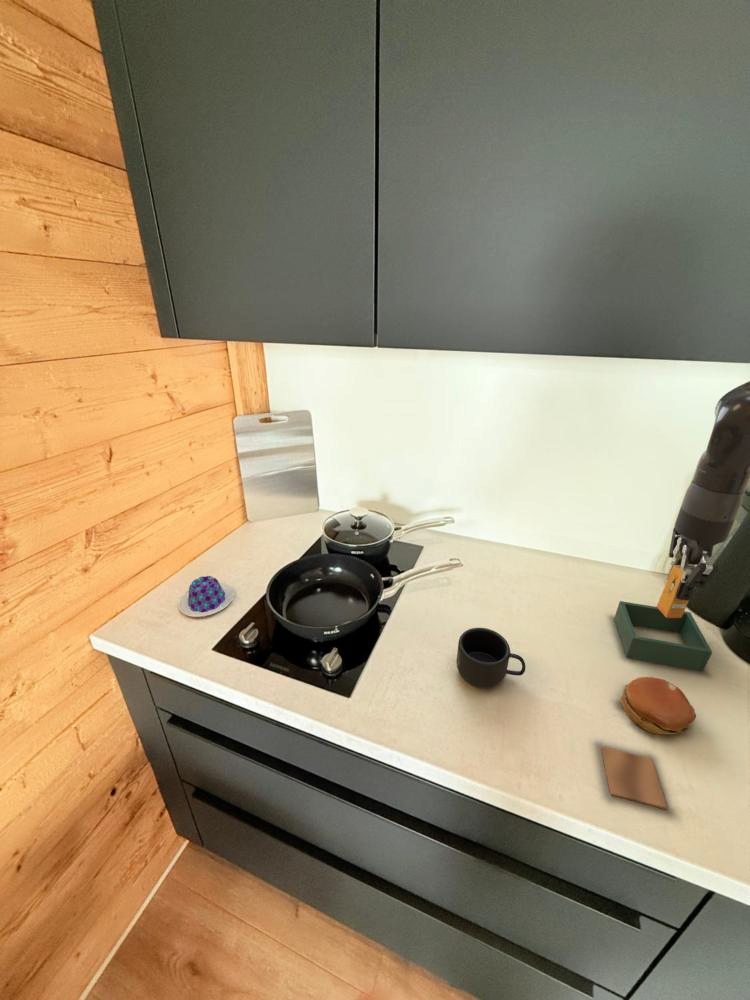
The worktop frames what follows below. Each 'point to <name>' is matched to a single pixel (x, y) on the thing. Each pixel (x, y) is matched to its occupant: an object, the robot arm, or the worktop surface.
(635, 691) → the burger
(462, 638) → the mug
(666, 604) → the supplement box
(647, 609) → the basket
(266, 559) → the worktop surface
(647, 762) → the coaster
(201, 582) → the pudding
